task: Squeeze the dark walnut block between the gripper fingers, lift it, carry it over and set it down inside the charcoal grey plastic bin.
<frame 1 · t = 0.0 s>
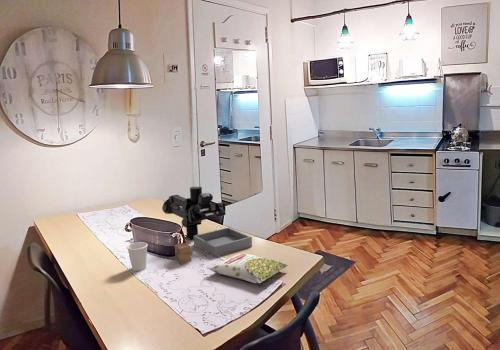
hand: (216, 215, 188), 17 cm above the table, tool horizontal, fingers open, 9 cm apart
frozen beans: (248, 274, 165), on the table
dixie cup: (139, 268, 175), on the table
grey bin: (222, 245, 198), on the table
walnut block: (183, 260, 181), on the table
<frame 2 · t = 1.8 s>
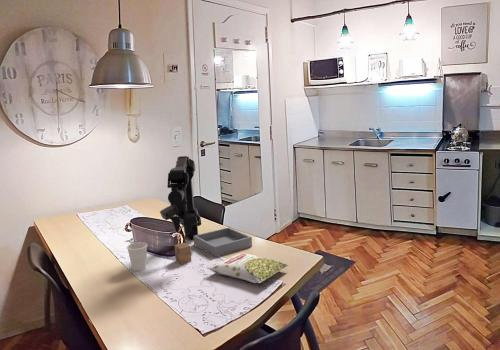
hand: (181, 234, 179), 12 cm above the table, tool pointing down, fingers open, 9 cm apart
nothing on the table moved.
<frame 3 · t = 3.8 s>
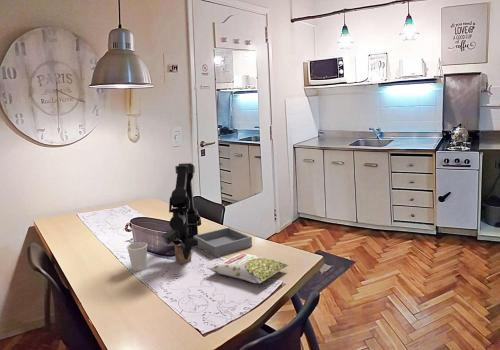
hand: (183, 257, 181), 2 cm above the table, tool pointing down, fingers closed on walnut block, 5 cm apart
walnut block: (183, 260, 181), on the table, touching gripper
everything else where it was.
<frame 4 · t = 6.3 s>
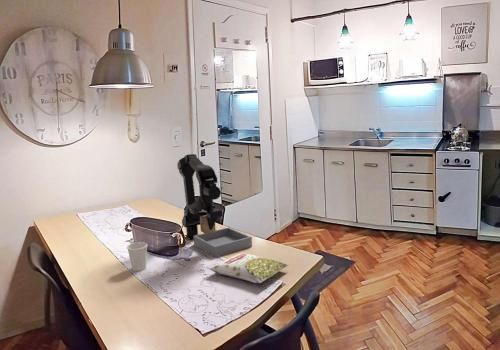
hand: (208, 228, 190), 11 cm above the table, tool pointing down, fingers closed on walnut block, 5 cm apart
walnut block: (208, 231, 190), point 9 cm above the table, touching gripper
everything else where it was.
when the fingers open (4 cm above the table, at t = 8.9 s): walnut block drops 2 cm, resting on grey bin.
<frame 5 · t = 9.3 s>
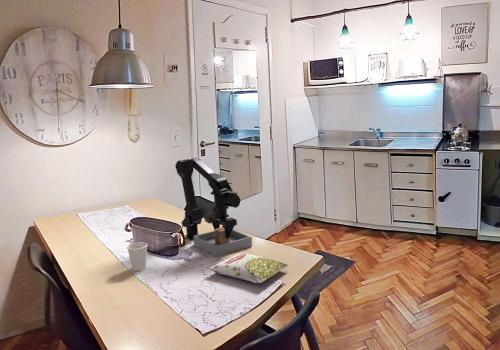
hand: (222, 236, 197), 4 cm above the table, tool pointing down, fingers open, 9 cm apart
walnut block: (222, 243, 198), point 1 cm above the table, touching grey bin
everything else where it was.
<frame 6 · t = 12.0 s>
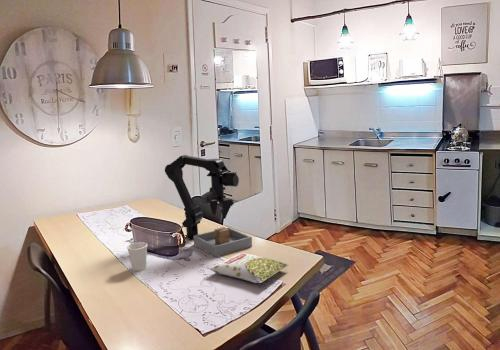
hand: (219, 216, 203), 12 cm above the table, tool pointing down, fingers open, 9 cm apart
nothing on the table moved.
at the end: walnut block inside the target area on the grey bin (0.0 cm from its centre), point 1.0 cm above the grey bin's base; the gripper is holding nothing; walnut block tilted 0° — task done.
